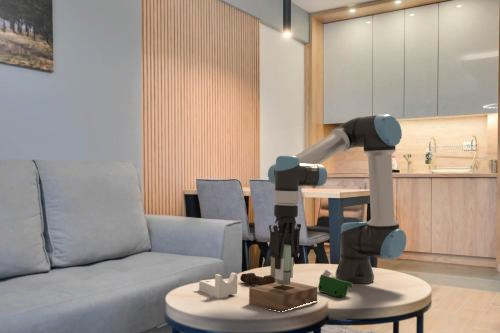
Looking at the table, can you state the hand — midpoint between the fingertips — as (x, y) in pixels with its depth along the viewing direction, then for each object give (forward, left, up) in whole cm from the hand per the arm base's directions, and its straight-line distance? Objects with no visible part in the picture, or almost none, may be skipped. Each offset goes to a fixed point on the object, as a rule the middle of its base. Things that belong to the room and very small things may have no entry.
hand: (284, 278), depth 152 cm
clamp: (-24, +3, -8) cm, 26 cm away
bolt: (-12, -23, -8) cm, 27 cm away
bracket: (+6, -24, -9) cm, 26 cm away
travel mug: (-31, -27, -8) cm, 42 cm away
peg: (0, 0, -2) cm, 2 cm away
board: (0, 0, -8) cm, 8 cm away
